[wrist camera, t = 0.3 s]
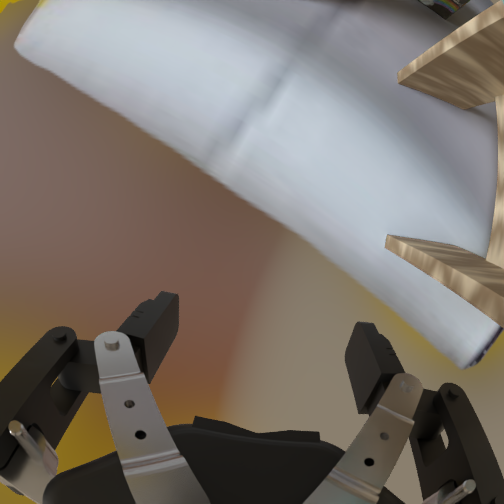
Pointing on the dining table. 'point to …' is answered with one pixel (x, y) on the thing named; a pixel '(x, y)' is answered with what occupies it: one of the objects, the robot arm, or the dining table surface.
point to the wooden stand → (500, 90)
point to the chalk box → (444, 6)
